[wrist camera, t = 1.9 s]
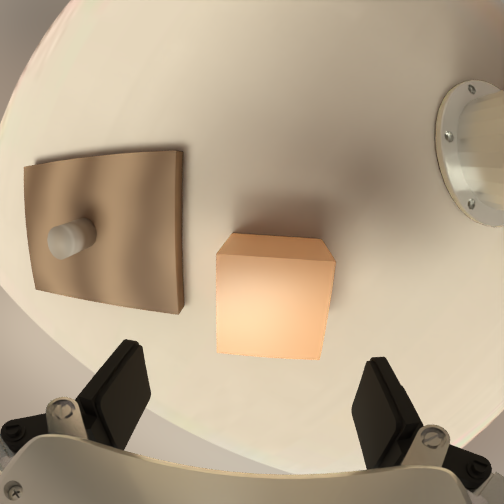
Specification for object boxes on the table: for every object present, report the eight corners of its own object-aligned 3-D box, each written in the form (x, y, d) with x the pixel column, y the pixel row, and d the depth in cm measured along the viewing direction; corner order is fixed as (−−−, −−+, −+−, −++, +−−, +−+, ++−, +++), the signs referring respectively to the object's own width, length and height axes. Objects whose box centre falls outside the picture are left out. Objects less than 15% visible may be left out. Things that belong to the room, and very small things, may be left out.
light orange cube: (321, 238, 20) (335, 261, 15) (311, 318, 22) (319, 359, 17) (232, 233, 21) (216, 253, 16) (230, 313, 22) (216, 352, 17)
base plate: (183, 151, 20) (155, 146, 15) (184, 306, 23) (162, 338, 18) (34, 166, 21) (-3, 169, 16) (44, 284, 24) (13, 302, 19)
